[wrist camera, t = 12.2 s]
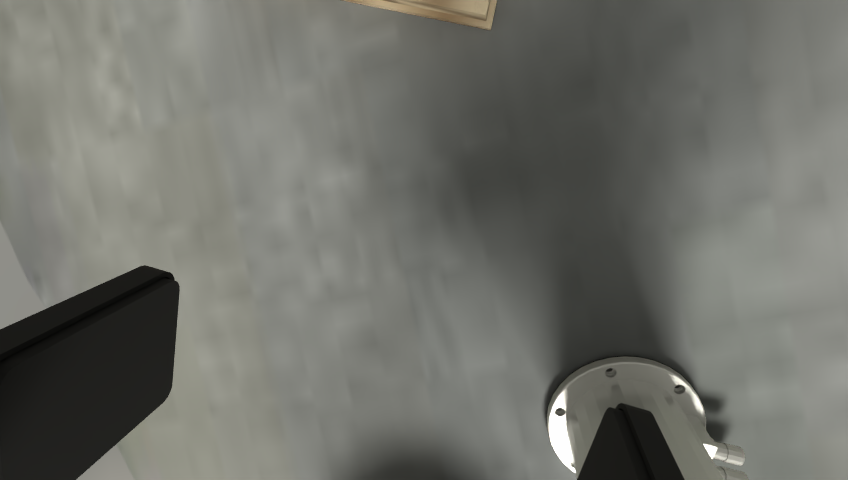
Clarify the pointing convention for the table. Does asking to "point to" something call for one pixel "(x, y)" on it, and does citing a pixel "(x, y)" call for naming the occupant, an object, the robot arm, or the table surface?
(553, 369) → the table surface
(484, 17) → the rack
